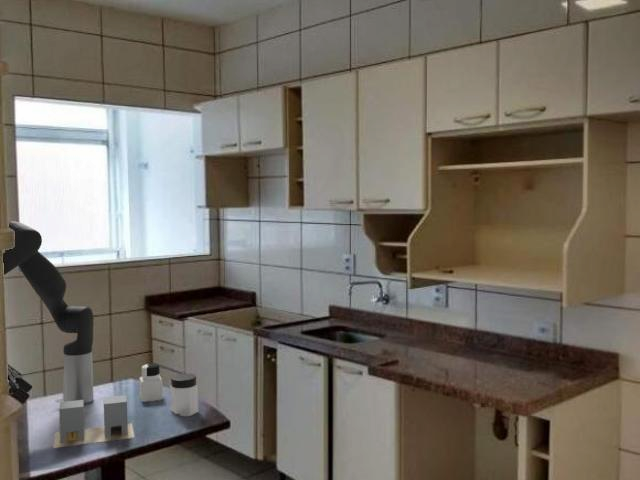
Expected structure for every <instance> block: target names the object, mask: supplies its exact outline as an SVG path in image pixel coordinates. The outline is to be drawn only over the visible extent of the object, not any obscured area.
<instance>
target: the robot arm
mask: <svg viewBox="0 0 640 480" xmlns="http://www.w3.org/2000/svg"><path fill="white" fill-rule="evenodd" d="M8 222H9V227H10V228H11V229H13V230H14V231H15V247H14V248H13V249H9V250H5V251H3V252H2V254H3V263H4V276H5V275H7V274H8V273H9V272H11V271H13V270H14V269H15V268H17V267H18V268H19V269H20V271H21V273H22V274H23V276H24V277H25V279H26V280H27V281H28V282H29V284H30V286H31V287H32V289H33V290H34V291H35V293H36V295H37V296H39V298H40V299H41V301H42V302H43V303H44V305H45V307H46V308H47V310H48V311H49V313H50V314H51V317H52V319H53V322H55V324H56V326H57V328H58V329H59V331H61V332H62V333H66V334H76V335H77V336H76V339H75V340H74V341H71V342H67V343H66V344H64V346H63V350H62V351H63V372H64V373H62V400H63V401H62V402H67V401H76V400H84V405H85V404H89V403H92V402H93V401H94V379H93V378H94V373H93V372H94V371H93V370H94V369H93V367H94V365H93V342H94V313H93V310H92V308H90V307H89V306H80V305H79V306H76V305H69V304H67V303H66V301H65V300H64V296H65V294H66V291H67V281H66V280H65V278H64V277H63V275H62V274H61V272H60V271H59V269H58V268H57V267H56V266H55V265H54V264H53V263H52V262H51V261H50V260H49V259H48V258H47V257H45V256H44V255H43V254H42V253H41V252H40V251H39V250H40V248H41V246H42V244H43V243H42V242H43V238H42V235H41V234H40V232H39V231H37V229H34V228H32V227H30V226H28V225H26V224H24V223H22V222H19V221H15V220H14V221H13V220H12V221H8ZM6 363H7V364H8V380H9V393H10V395H14V396H16V397H17V398H18V399H19V400H21V401H22V402H26V401H27V400H28V399H30V394H29V392H30V391H31V390H32V389H33V385H32V384H30V383H29V382H28V381H26V379H24V378H23V376H22V373H21V372H20V371H18V370H16V368H14V367H13V366H11V365H10V364H9V363H8V362H6Z"/></svg>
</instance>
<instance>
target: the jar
mask: <svg viewBox="0 0 640 480" xmlns="http://www.w3.org/2000/svg"><path fill="white" fill-rule="evenodd" d="M198 389H199V388H198V384H197V375H195V374H193V373H177V374H175V375H173V376H171V377H170V385H169V393H170V394H169V400H170V401H169V404H170V406H169V407H170V411H171V412H172V413H174V414H175V415H180V418H181V417H182V418H183V417H191V416H193V415H195V414H197V413H198V412H199V395H198V394H199V390H198Z"/></svg>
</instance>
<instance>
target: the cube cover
mask: <svg viewBox="0 0 640 480" xmlns="http://www.w3.org/2000/svg"><path fill="white" fill-rule="evenodd" d="M58 407H59V409H58V412H59V414H58V415H59V432H60V443H67V432H74V431H78V441H83V440H84V433H85V432H84V429H85V411H84V410H85V404H84V400H76V401H67V402H65V401H59V406H58Z"/></svg>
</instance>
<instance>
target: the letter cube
mask: <svg viewBox="0 0 640 480" xmlns="http://www.w3.org/2000/svg"><path fill="white" fill-rule="evenodd" d="M71 440H78V431H74V432H67V441H71Z"/></svg>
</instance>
